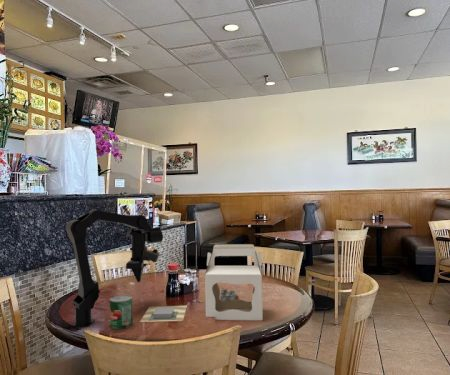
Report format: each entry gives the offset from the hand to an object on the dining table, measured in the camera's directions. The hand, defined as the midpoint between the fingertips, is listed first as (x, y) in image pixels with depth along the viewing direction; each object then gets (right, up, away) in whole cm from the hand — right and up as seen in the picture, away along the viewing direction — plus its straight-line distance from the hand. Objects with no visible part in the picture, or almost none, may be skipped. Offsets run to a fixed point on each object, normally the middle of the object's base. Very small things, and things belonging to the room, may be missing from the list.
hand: (139, 281), depth 148 cm
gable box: (+40, -11, -7) cm, 43 cm away
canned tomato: (-1, -12, -20) cm, 24 cm away
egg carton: (+38, -12, +14) cm, 42 cm away
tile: (+12, -9, -7) cm, 17 cm away
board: (+12, -12, -8) cm, 19 cm away
